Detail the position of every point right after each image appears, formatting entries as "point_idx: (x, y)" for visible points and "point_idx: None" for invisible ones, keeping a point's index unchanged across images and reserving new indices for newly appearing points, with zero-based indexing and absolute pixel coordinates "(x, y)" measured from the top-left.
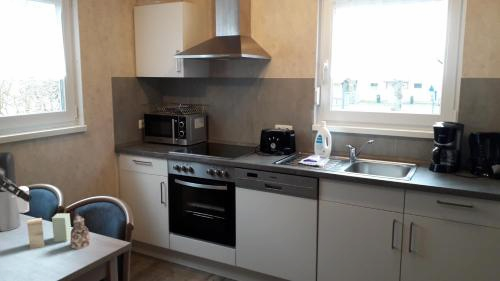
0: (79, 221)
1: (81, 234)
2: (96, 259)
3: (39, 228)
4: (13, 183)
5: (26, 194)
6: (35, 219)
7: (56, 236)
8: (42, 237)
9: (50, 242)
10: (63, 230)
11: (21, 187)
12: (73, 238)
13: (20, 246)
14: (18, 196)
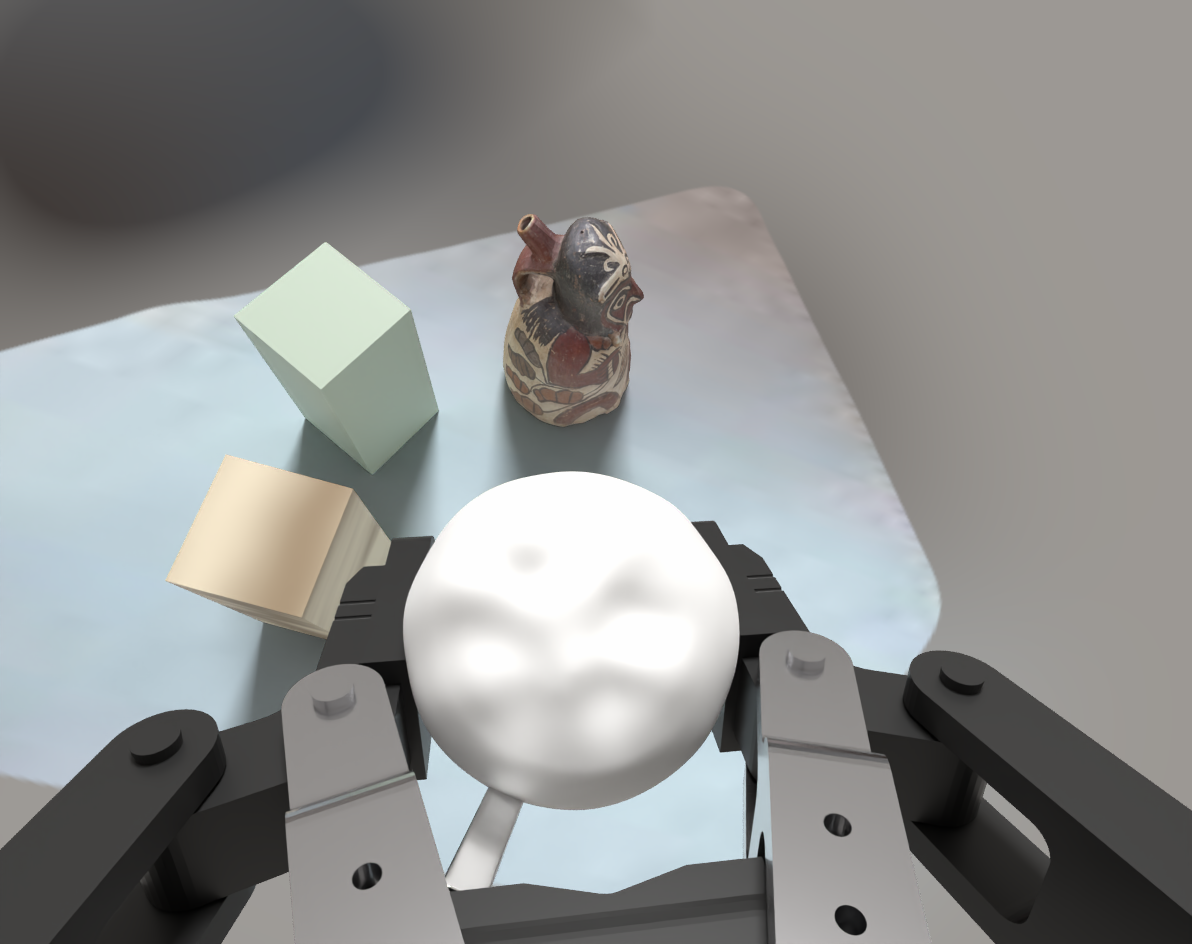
0: (627, 265)
1: (626, 327)
2: (842, 387)
3: (355, 532)
4: (924, 928)
5: (748, 595)
6: (222, 512)
7: (379, 444)
8: (381, 540)
9: (364, 498)
10: (414, 383)
11: (606, 621)
12: (594, 384)
13: (249, 694)
14: (981, 815)
